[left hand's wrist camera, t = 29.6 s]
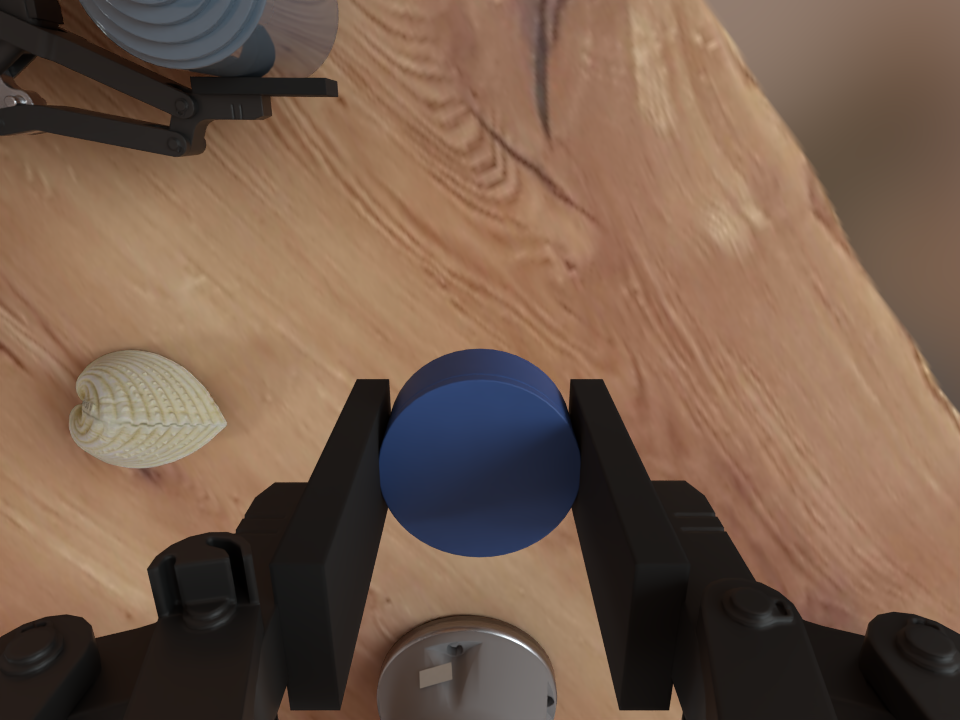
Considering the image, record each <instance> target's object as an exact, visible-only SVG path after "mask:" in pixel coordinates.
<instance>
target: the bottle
mask: <svg viewBox="0 0 960 720" xmlns="http://www.w3.org/2000/svg"><path fill="white" fill-rule="evenodd" d="M79 1H80V3H81V4H82V6H83V7H84V9H85V11H86V12H87V14H88V15H89V16H90V18H91V19H92V20H93V21H94V23H95V24H96V25H97V26H98V27H99V28H100V29H101V30H102V31H103V33H104V34H105V35H106V36H107V37H108V38H110V39H111V40H112V41H113V42H114V43H116V44H117V45H118V46H119V47H121V48H122V49H124V50H125V51H127V52H128V53H130V54H131V55H133V56H135V57H137V58H139V59H141V60H143V61H145V62H148V63H151V64H154V65H157V66H161V67H166V68H170V69H176V70H182V71H188V72H193V73H199V74H205V75H211V76H216V77H277V78H307V77H308V76H310V75H311V74H312V73H314V72H315V71H316V70H317V69H318V68H319V67H320V66H321V65H322V64H323V62H324V61H325V59H326V58H327V57H328V55H329V53H330V51H331V49H332V46H333V44H334V41H335V37H336V33H337V27H338V4H337V0H79Z"/></svg>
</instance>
